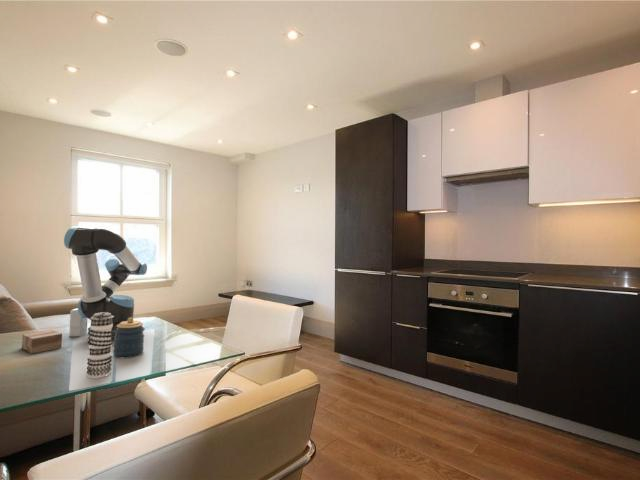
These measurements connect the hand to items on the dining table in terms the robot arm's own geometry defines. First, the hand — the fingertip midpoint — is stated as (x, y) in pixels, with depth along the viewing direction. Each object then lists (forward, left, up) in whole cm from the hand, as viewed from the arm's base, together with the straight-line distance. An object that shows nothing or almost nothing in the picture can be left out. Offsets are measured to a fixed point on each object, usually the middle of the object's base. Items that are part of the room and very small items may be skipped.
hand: (81, 318), depth 195 cm
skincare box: (-1, +2, -9) cm, 10 cm away
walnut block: (-10, +25, -9) cm, 28 cm away
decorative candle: (-65, +34, -9) cm, 74 cm away
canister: (-53, +11, -9) cm, 54 cm away
